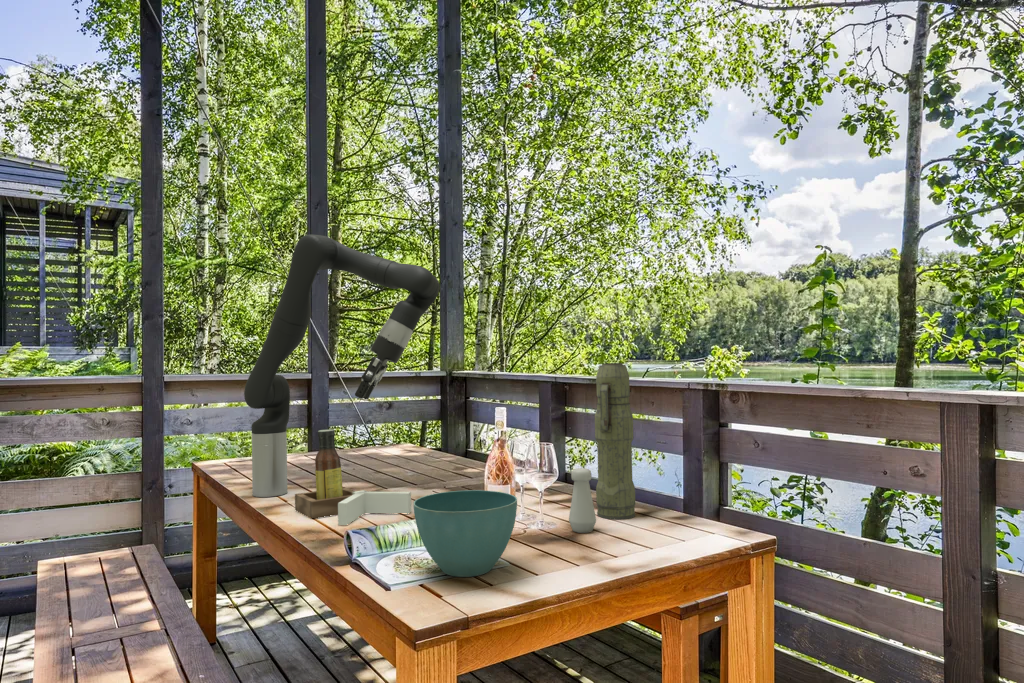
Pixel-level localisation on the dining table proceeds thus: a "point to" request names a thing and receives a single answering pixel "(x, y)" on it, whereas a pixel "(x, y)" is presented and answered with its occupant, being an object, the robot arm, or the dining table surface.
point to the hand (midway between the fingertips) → (360, 397)
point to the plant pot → (465, 529)
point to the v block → (372, 504)
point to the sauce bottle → (327, 467)
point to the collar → (319, 504)
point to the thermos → (614, 443)
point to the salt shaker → (582, 502)
